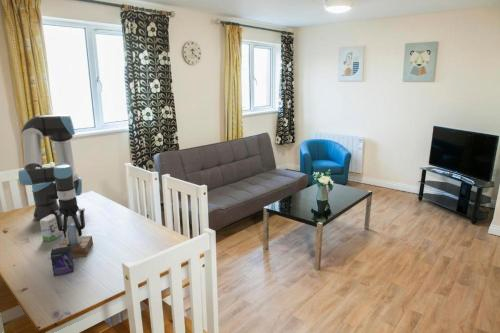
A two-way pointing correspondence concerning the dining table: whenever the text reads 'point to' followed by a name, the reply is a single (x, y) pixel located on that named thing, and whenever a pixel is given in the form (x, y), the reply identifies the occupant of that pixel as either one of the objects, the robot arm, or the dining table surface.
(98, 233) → the dining table surface
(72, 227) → the peg
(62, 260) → the box
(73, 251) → the socket
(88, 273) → the dining table surface
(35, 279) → the dining table surface
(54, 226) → the ink box
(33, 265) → the dining table surface
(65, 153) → the robot arm
